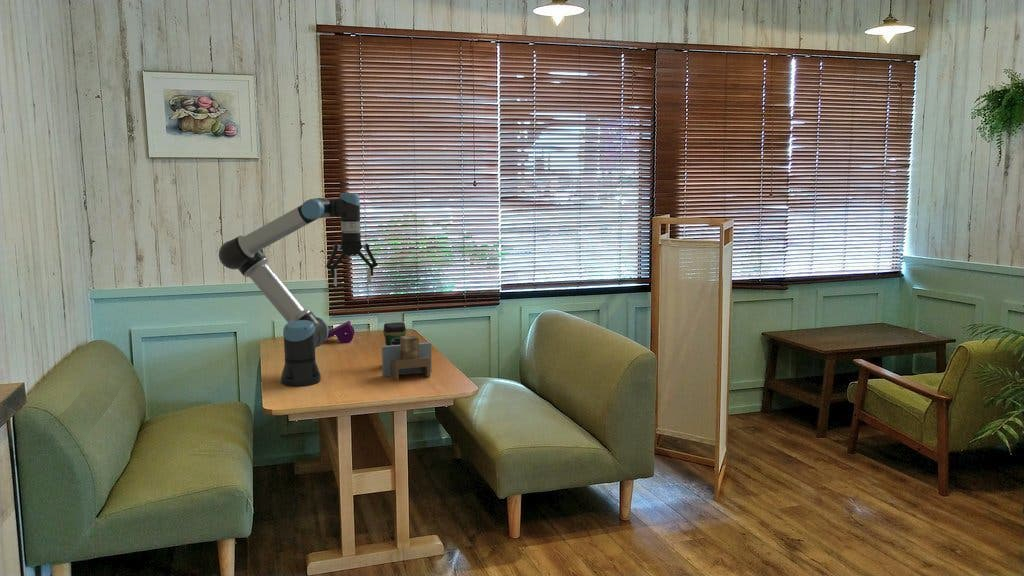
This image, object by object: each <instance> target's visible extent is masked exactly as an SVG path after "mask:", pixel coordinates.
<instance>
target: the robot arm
mask: <svg viewBox="0 0 1024 576" xmlns="http://www.w3.org/2000/svg"><path fill="white" fill-rule="evenodd" d="M339 196H340V197H338V198H336V197H335V198H331V197H329V198H328V197H325V198H324V197H316V198H310V199H307V200H306V201H305V200H304V202H303V203H302V204H300V205H299V206H297V207H295V208H294V209H292V210H290V211H288V212H286V213H284V214H282V215H281V216H279V217H277V218H275V219H274V220H272V221H270V222H267V223H266V224H264V225H262V226H260V227H259V228H257V229H255V230H253V231H252V232H249V233H248V234H246V235H238V236H237V237H234V238H233V239H230V240H228V241H226V242H223V244H222V245H221V246H220V247H219V250H218V259H219V261H220V263H221V265H223V267H225V268H227V269H229V270H238V271H239V272H240V273H241V274H242V276H243V277H244V278H245V277H247V278H250V279H251V280H252V282H253V283H254V284H255V285H256V287H257V288H258V289H259V290H260V291H261V293H262V294H263V295H264V296H265V297H266V298H267V300H269V302H270V303H271V304H272V306H273V307H274V308H275V309H276V311H277V312H278V313H279V314H280V316H282V317H283V319H284V320H285V321H286V322H287V323H286V324H285V325H284V327H283V333H282V334H283V335H282V336H283V349H284V365H283V370H282V373H281V375H280V376H281V377H280V384H282V385H283V384H285V386H288V385H290V386H289V387H303V386H302V385H305V386H311V385H315V384H318V383H320V382H321V381H322V379H321V378H322V377H321V372H320V370H319V367H318V365H317V361H316V348H318V347H321V346H322V345H323V344H324V343H325V341H326V340H328V339H327V337H328V331H329V327H328V324H327V323H326V321H325V320H324V319H322V318H320V317H317V316H316V315H315V314H314V312H312V310H311V309H310V310H309V309H306V308H304V306H303V305H302V304H301V303H300V302H299V300H298V299H297V298H296V297H295V296H294V295H293V293H292V292H291V291H290V290H289V288H287V286H286V285H285V284H284V283H283V282H282V280H281V279H280V278H279V276H278V275H277V274H276V273H275V271H274V270H273V269H272V268H271V267H270V265H269V264H268V257H267V256H266V255H265V254H264V249H265V248H267V247H269V246H271V245H272V244H274V243H276V242H278V241H280V240H281V239H283V238H285V237H287V236H289V235H291V234H292V233H295V232H296V231H299V229H301V228H303V227H305V226H307V225H309V224H312V223H313V222H314V221H316V220H319V219H323V218H340V222H341V223H340V228H341V234H340V235H341V244H339V245H338V244H334V245H333V250H332V252H331V254H330V257H329V258H328V261H327V263H326V265H325V268H326V269H329V270H330V277H331V278H333V286H335V287H337V286H338V280H337V279H338V275H337V269H336V268H337V267H338V265H339V264H340V263H341V261H342V260H343V259H344V258H345V257H346V256H348V257H349V256H357V255H358V256H359V257H360V258H361V259H362V261H364V263H365V264H366V265H367V266H368V267H367V269H366V270H367V284H368V285H369V286H370V285H372V278H371V277H373V276H374V268H375V267H378V263H377V260H376V259H375V257H374V255H373V253H372V251H371V249H370V245H369V243H364V244H362V241H361V240H362V239H361V238H362V237H361V235H362V234H361V201H360V195H359V194H358V193H356V192H354V193H352V192H347V193H346V192H342V193H340V195H339ZM340 249H341V251H342V252H341V253H340V254H339V256H338V257H337V259H336V260H335V261H334V259H335V258H336V255H337V253H338V251H340ZM362 249H363V250H365V251H366V254H367V256H368V257H369V259H370V260H368V258H366V256H365V255H364V254H363V252H362V251H361V250H362ZM333 261H334V262H333ZM370 261H371V262H370ZM320 380H321V381H320ZM319 381H320V382H319ZM317 382H318V383H317ZM310 384H311V385H310Z"/></svg>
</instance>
